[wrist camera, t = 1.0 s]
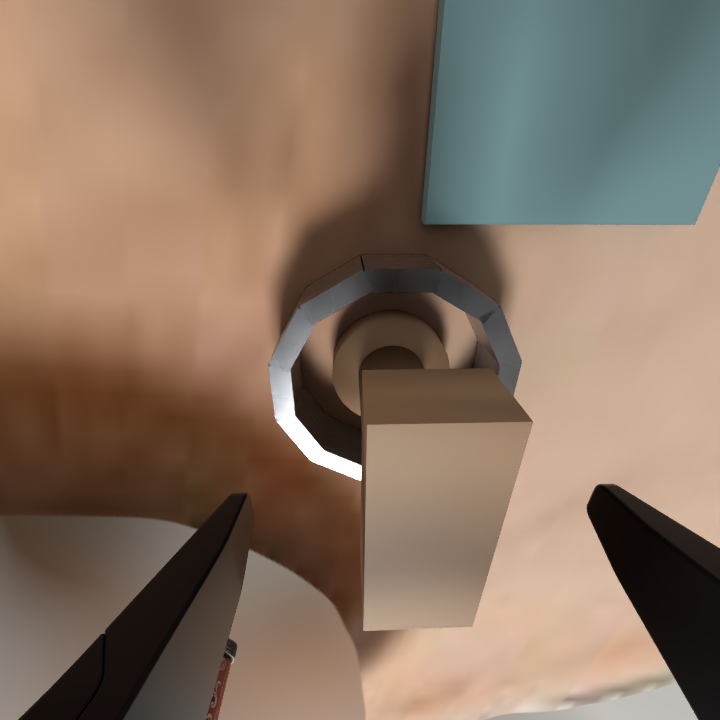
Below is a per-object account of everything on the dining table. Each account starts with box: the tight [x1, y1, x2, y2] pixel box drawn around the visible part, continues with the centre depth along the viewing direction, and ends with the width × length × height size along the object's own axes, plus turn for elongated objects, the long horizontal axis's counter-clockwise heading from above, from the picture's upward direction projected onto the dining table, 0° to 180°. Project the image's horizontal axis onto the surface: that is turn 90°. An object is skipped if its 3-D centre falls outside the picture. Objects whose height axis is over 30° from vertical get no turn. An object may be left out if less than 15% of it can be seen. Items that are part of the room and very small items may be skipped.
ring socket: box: [268, 255, 522, 481], centre depth 15 cm, size 10×10×2 cm
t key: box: [333, 310, 533, 631], centre depth 12 cm, size 7×5×9 cm
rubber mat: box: [421, 0, 720, 225], centre depth 10 cm, size 10×10×1 cm
